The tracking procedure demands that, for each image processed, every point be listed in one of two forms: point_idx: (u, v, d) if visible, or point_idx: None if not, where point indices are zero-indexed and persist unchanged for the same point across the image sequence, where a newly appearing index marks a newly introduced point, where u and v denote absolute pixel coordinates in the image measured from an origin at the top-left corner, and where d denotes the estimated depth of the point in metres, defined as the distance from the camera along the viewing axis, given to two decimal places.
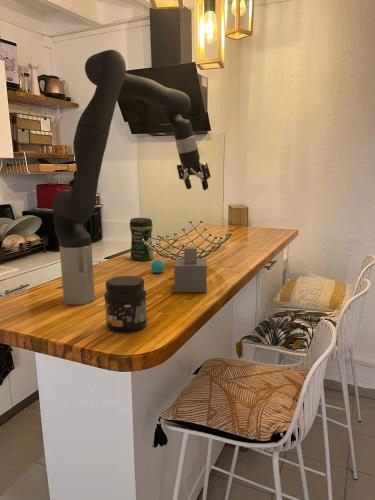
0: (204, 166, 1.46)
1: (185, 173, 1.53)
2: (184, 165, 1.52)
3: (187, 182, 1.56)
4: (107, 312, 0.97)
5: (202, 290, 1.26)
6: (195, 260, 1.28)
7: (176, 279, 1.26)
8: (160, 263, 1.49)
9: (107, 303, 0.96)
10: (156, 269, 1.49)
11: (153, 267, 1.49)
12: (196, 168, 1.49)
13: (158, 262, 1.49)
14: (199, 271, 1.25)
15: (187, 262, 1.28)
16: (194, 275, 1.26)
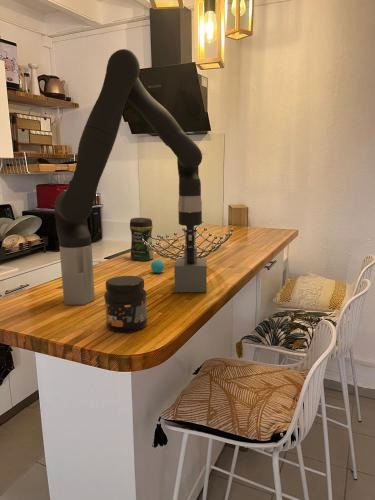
0: (188, 238, 1.22)
1: None
2: None
3: None
4: (107, 312, 0.97)
5: (202, 290, 1.26)
6: (195, 260, 1.28)
7: (176, 279, 1.26)
8: (160, 263, 1.49)
9: (107, 303, 0.96)
10: (156, 269, 1.49)
11: (153, 267, 1.49)
12: None
13: (158, 262, 1.49)
14: (199, 271, 1.25)
15: None
16: (194, 275, 1.26)
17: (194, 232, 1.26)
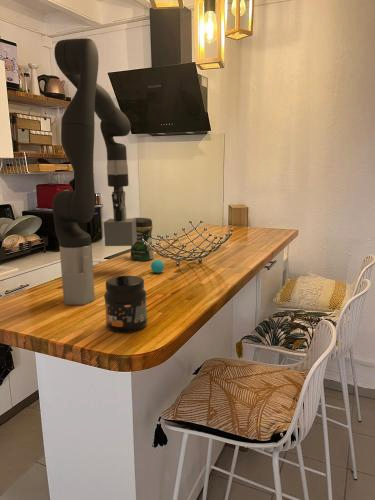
0: (113, 196, 1.39)
1: None
2: None
3: None
4: (107, 312, 0.97)
5: (129, 244, 1.44)
6: (123, 218, 1.45)
7: (106, 234, 1.44)
8: (160, 263, 1.49)
9: (107, 303, 0.96)
10: (156, 269, 1.49)
11: (153, 267, 1.49)
12: None
13: (158, 262, 1.49)
14: (125, 226, 1.43)
15: None
16: (121, 230, 1.43)
17: (121, 193, 1.44)
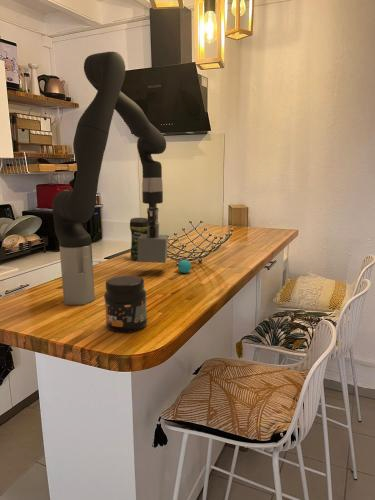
0: (149, 214, 1.41)
1: None
2: None
3: None
4: (107, 312, 0.97)
5: (161, 260, 1.45)
6: (157, 234, 1.47)
7: (139, 250, 1.45)
8: (179, 266, 1.49)
9: (107, 303, 0.96)
10: (185, 267, 1.48)
11: (185, 270, 1.49)
12: None
13: (179, 268, 1.49)
14: (159, 243, 1.44)
15: None
16: (155, 247, 1.44)
17: (156, 209, 1.45)
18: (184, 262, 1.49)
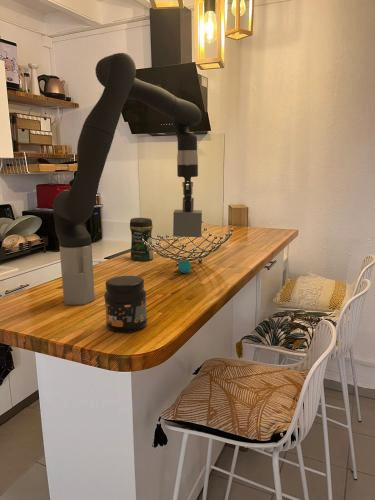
0: (185, 187, 1.38)
1: None
2: None
3: None
4: (107, 312, 0.97)
5: (197, 235, 1.43)
6: (192, 209, 1.44)
7: (174, 224, 1.43)
8: (179, 266, 1.49)
9: (107, 303, 0.96)
10: (185, 267, 1.48)
11: (185, 270, 1.49)
12: None
13: (179, 268, 1.49)
14: (195, 218, 1.42)
15: None
16: (190, 221, 1.42)
17: (191, 183, 1.43)
18: (184, 262, 1.49)
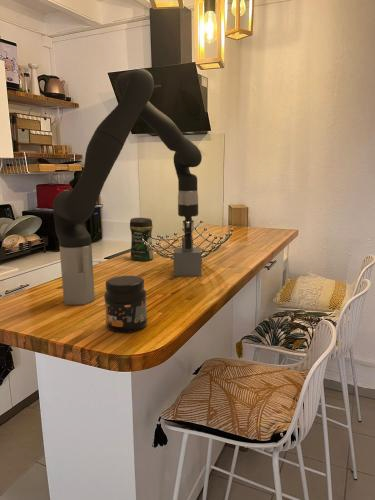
0: (186, 224, 1.41)
1: None
2: None
3: None
4: (107, 312, 0.97)
5: (197, 274, 1.46)
6: (191, 248, 1.47)
7: (175, 264, 1.46)
8: None
9: (107, 303, 0.96)
10: None
11: None
12: (185, 224, 1.44)
13: None
14: (195, 257, 1.45)
15: (184, 250, 1.48)
16: (190, 261, 1.45)
17: (191, 222, 1.46)
18: None
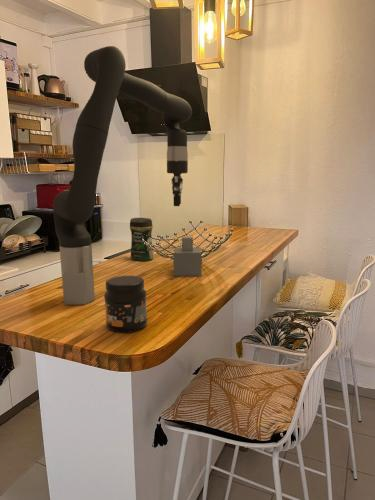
0: (174, 179, 1.36)
1: None
2: None
3: None
4: (107, 312, 0.97)
5: (197, 274, 1.46)
6: (191, 248, 1.47)
7: (175, 264, 1.46)
8: None
9: (107, 303, 0.96)
10: None
11: None
12: None
13: None
14: (195, 257, 1.45)
15: (184, 250, 1.48)
16: (190, 261, 1.45)
17: (180, 179, 1.41)
18: None
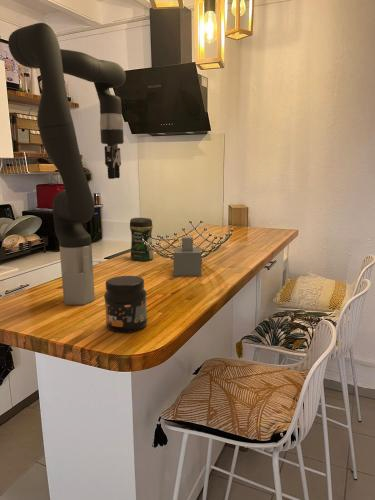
0: (106, 148, 1.26)
1: None
2: None
3: (114, 169, 1.38)
4: (107, 312, 0.97)
5: (197, 274, 1.46)
6: (191, 248, 1.47)
7: (175, 264, 1.46)
8: None
9: (107, 303, 0.96)
10: None
11: None
12: None
13: None
14: (195, 257, 1.45)
15: (184, 250, 1.48)
16: (190, 261, 1.45)
17: (115, 150, 1.31)
18: None
